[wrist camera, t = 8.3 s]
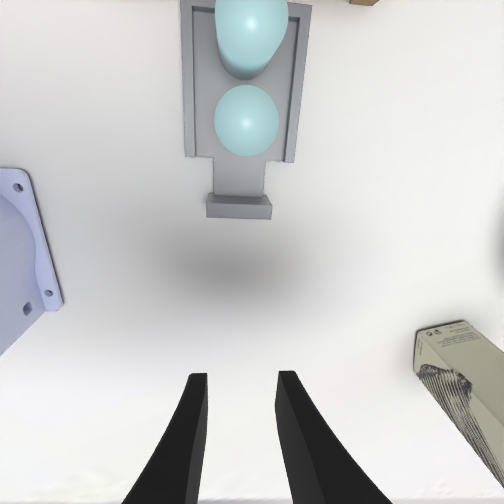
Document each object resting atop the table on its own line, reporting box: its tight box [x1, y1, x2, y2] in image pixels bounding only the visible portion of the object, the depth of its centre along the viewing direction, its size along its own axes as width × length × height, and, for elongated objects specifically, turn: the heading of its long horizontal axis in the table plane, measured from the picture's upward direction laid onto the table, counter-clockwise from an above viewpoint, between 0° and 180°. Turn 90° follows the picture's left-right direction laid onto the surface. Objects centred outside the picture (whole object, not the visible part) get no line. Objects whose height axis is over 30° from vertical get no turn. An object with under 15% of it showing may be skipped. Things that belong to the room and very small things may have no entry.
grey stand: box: [180, 0, 312, 220], centre depth 13 cm, size 10×6×5 cm, turn 176°
